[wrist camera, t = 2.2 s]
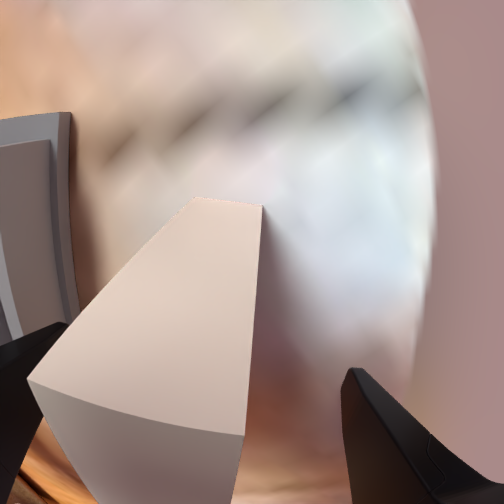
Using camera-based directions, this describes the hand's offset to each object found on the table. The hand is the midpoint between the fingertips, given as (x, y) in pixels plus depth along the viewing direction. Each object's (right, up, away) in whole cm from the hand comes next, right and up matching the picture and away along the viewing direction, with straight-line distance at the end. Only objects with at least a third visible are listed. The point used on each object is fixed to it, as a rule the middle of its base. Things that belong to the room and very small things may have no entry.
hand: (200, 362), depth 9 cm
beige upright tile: (0, +1, +3) cm, 4 cm away
